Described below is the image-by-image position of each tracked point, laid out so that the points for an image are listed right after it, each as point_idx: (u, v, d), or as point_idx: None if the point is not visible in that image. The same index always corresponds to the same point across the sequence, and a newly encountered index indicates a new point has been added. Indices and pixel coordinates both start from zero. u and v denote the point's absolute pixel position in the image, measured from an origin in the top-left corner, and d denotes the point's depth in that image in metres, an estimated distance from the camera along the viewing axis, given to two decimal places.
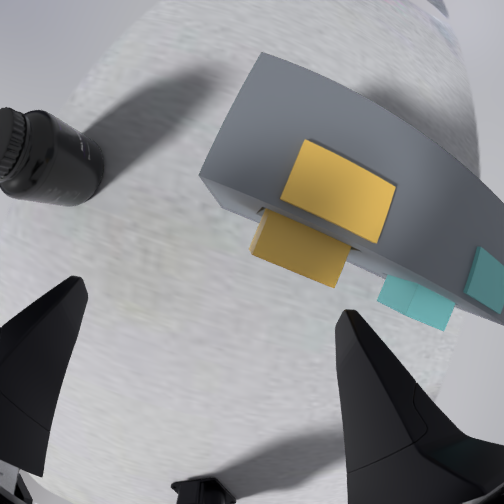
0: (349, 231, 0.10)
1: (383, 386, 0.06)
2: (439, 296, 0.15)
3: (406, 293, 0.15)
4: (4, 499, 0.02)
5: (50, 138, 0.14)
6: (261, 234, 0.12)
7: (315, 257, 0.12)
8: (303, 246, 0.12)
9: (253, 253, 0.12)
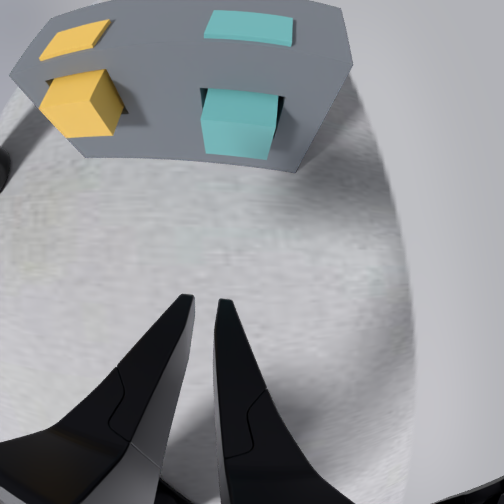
0: (76, 51, 0.09)
1: (219, 385, 0.06)
2: (245, 96, 0.14)
3: None
4: None
5: None
6: (45, 96, 0.11)
7: (76, 90, 0.11)
8: (68, 88, 0.11)
9: (39, 108, 0.11)
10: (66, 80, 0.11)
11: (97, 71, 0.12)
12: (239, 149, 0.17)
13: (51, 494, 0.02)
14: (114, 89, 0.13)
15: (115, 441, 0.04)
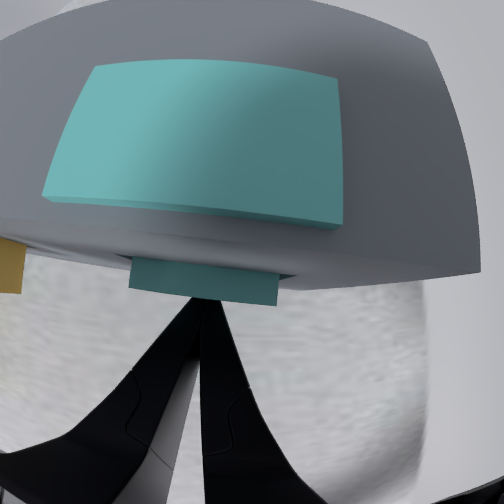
0: None
1: (202, 383, 0.06)
2: None
3: None
4: None
5: None
6: None
7: None
8: None
9: None
10: None
11: None
12: None
13: None
14: None
15: (134, 446, 0.04)
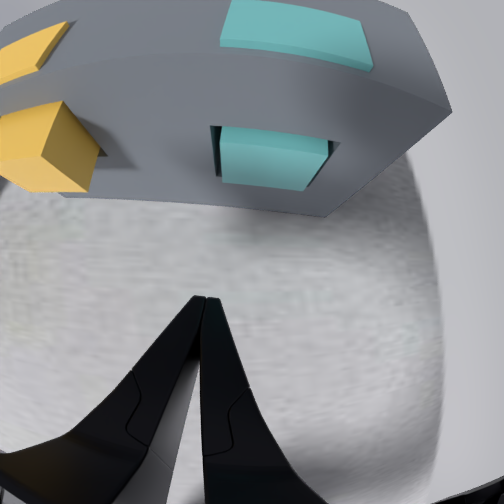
0: (17, 77, 0.05)
1: (202, 383, 0.06)
2: None
3: None
4: None
5: None
6: None
7: (25, 136, 0.07)
8: (16, 133, 0.07)
9: None
10: (14, 118, 0.07)
11: (53, 103, 0.07)
12: (269, 179, 0.13)
13: None
14: None
15: (133, 446, 0.04)
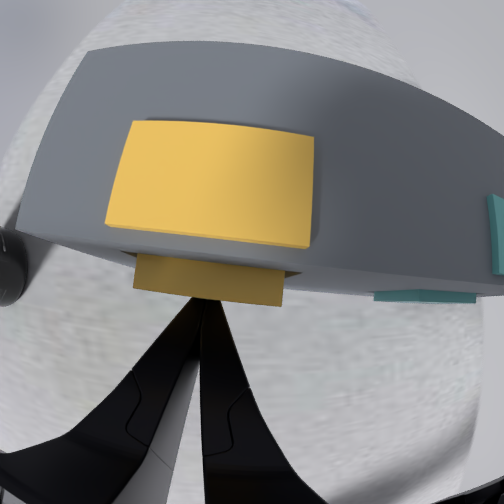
0: (248, 242, 0.05)
1: (202, 382, 0.06)
2: None
3: None
4: None
5: None
6: (139, 253, 0.07)
7: (232, 265, 0.07)
8: None
9: (135, 285, 0.07)
10: None
11: None
12: None
13: None
14: None
15: (134, 446, 0.04)
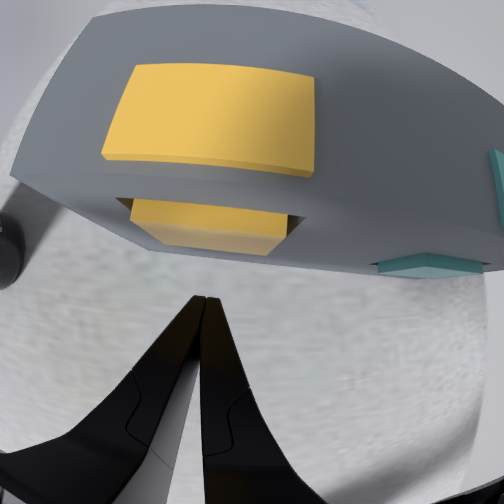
0: (249, 169, 0.05)
1: (202, 383, 0.06)
2: None
3: None
4: None
5: None
6: None
7: None
8: None
9: (132, 218, 0.07)
10: None
11: None
12: (420, 275, 0.12)
13: None
14: None
15: (133, 446, 0.04)
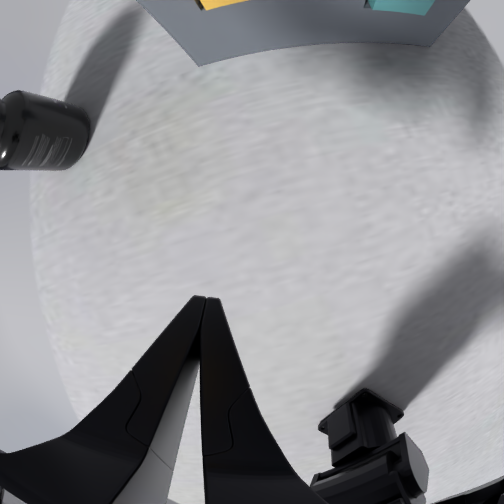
0: None
1: (202, 383, 0.06)
2: None
3: None
4: None
5: (19, 97, 0.13)
6: None
7: None
8: None
9: None
10: None
11: None
12: (406, 4, 0.10)
13: None
14: None
15: (134, 446, 0.04)
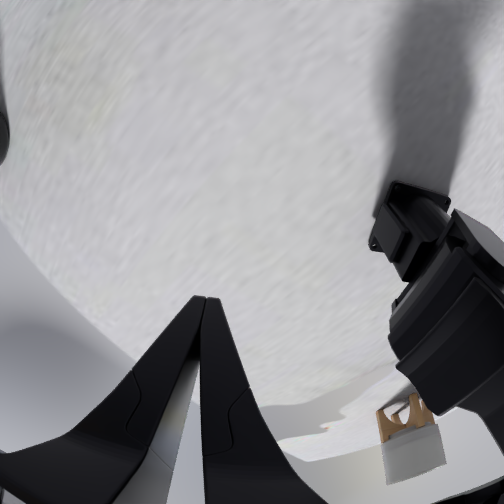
0: None
1: (202, 383, 0.06)
2: None
3: None
4: None
5: None
6: None
7: None
8: None
9: None
10: None
11: None
12: None
13: None
14: None
15: (134, 446, 0.04)
